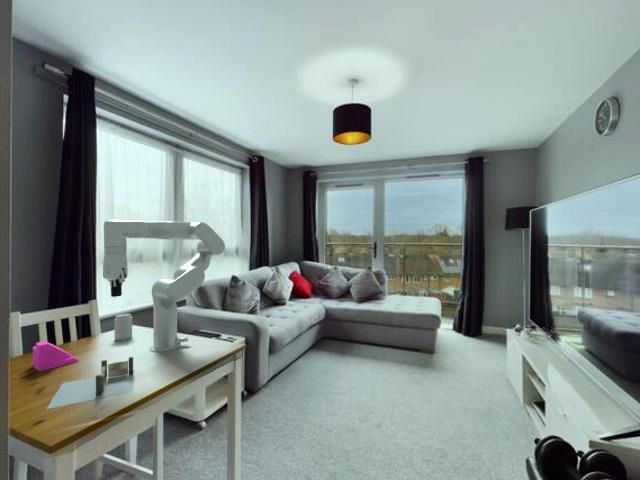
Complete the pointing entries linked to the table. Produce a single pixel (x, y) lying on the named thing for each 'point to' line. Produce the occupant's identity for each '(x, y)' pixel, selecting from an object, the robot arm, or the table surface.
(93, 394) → the card
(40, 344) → the magenta wedge-shaped piece
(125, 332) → the can
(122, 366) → the fence fixed
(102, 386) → the gate
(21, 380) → the table surface
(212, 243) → the robot arm
